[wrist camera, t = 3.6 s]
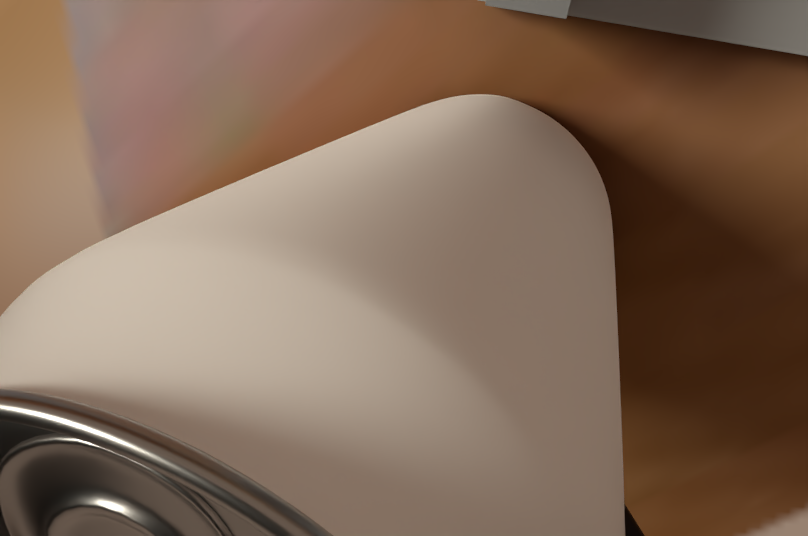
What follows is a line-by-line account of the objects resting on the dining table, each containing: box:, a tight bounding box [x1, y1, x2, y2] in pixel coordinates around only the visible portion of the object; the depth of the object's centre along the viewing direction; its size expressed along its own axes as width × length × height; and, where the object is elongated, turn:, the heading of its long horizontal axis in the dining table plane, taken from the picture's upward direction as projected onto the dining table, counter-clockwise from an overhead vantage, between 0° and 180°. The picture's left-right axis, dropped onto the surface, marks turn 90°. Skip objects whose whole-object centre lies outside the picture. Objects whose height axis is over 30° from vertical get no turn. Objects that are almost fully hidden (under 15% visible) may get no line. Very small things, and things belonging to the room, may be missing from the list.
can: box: [0, 94, 625, 536], centre depth 9 cm, size 6×6×12 cm
